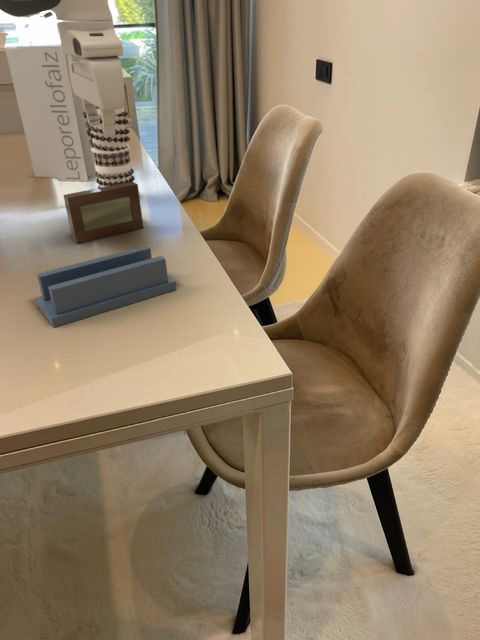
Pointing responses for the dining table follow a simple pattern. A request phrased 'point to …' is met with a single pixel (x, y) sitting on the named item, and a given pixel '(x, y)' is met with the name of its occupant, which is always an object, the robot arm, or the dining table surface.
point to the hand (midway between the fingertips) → (101, 129)
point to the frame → (103, 212)
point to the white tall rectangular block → (51, 113)
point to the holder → (101, 285)
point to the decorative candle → (111, 151)
